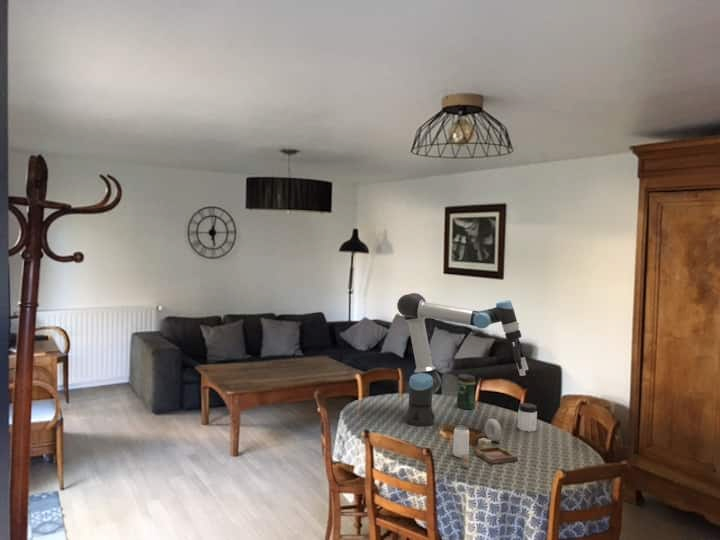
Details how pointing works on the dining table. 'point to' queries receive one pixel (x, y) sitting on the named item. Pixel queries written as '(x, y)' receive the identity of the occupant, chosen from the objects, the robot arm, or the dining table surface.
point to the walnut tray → (495, 455)
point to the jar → (527, 417)
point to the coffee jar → (466, 391)
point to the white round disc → (488, 429)
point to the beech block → (484, 443)
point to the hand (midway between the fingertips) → (524, 372)
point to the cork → (465, 460)
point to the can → (460, 441)
